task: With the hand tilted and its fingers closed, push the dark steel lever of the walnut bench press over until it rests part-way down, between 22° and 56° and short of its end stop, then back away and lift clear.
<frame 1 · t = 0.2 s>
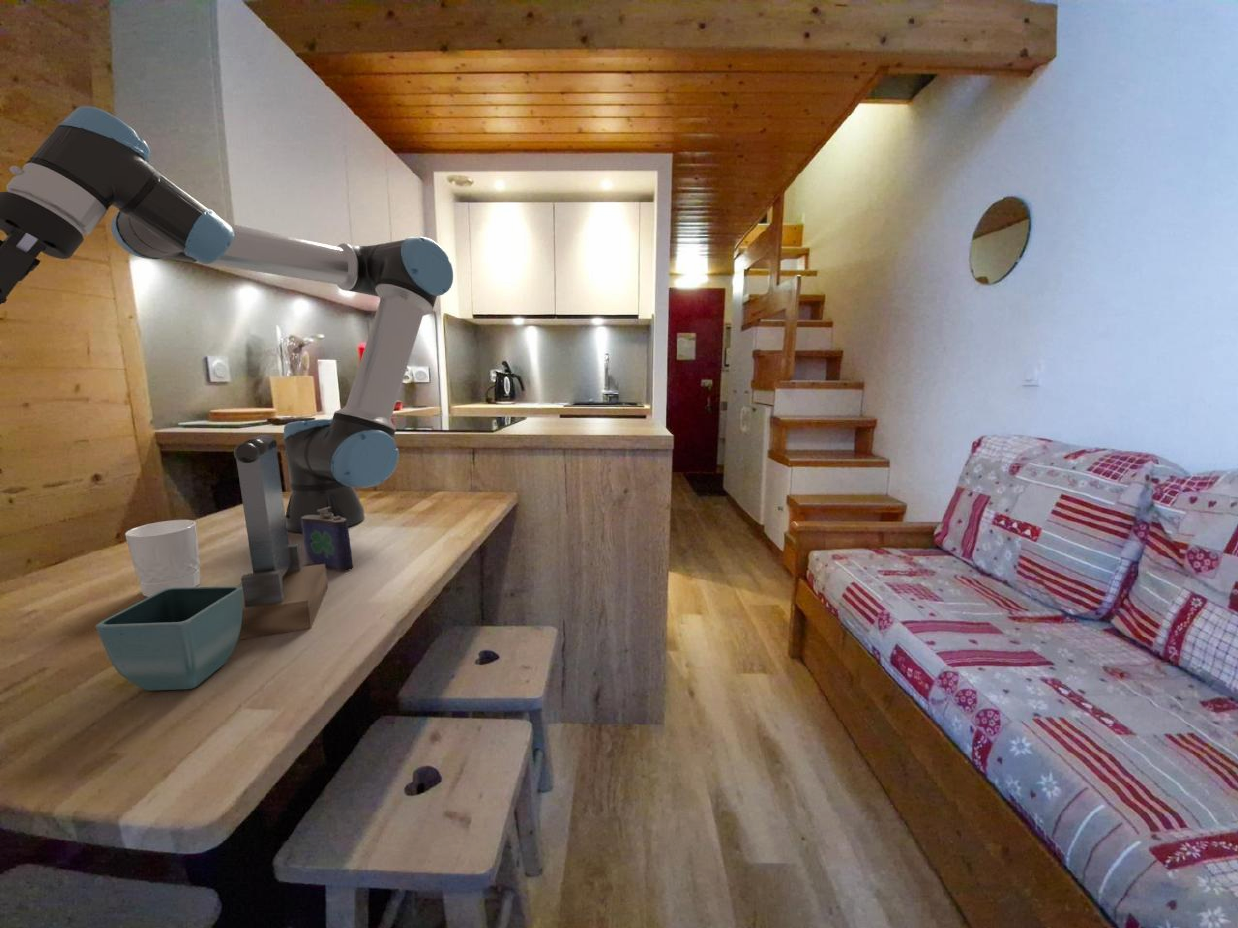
flask: (330, 567, 85), on the table
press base: (279, 612, 69), on the table
flower pot: (188, 678, 54), on the table
white cup: (173, 589, 76), on the table
lever: (265, 513, 66), point 15 cm above the table, hinge at 0.0°
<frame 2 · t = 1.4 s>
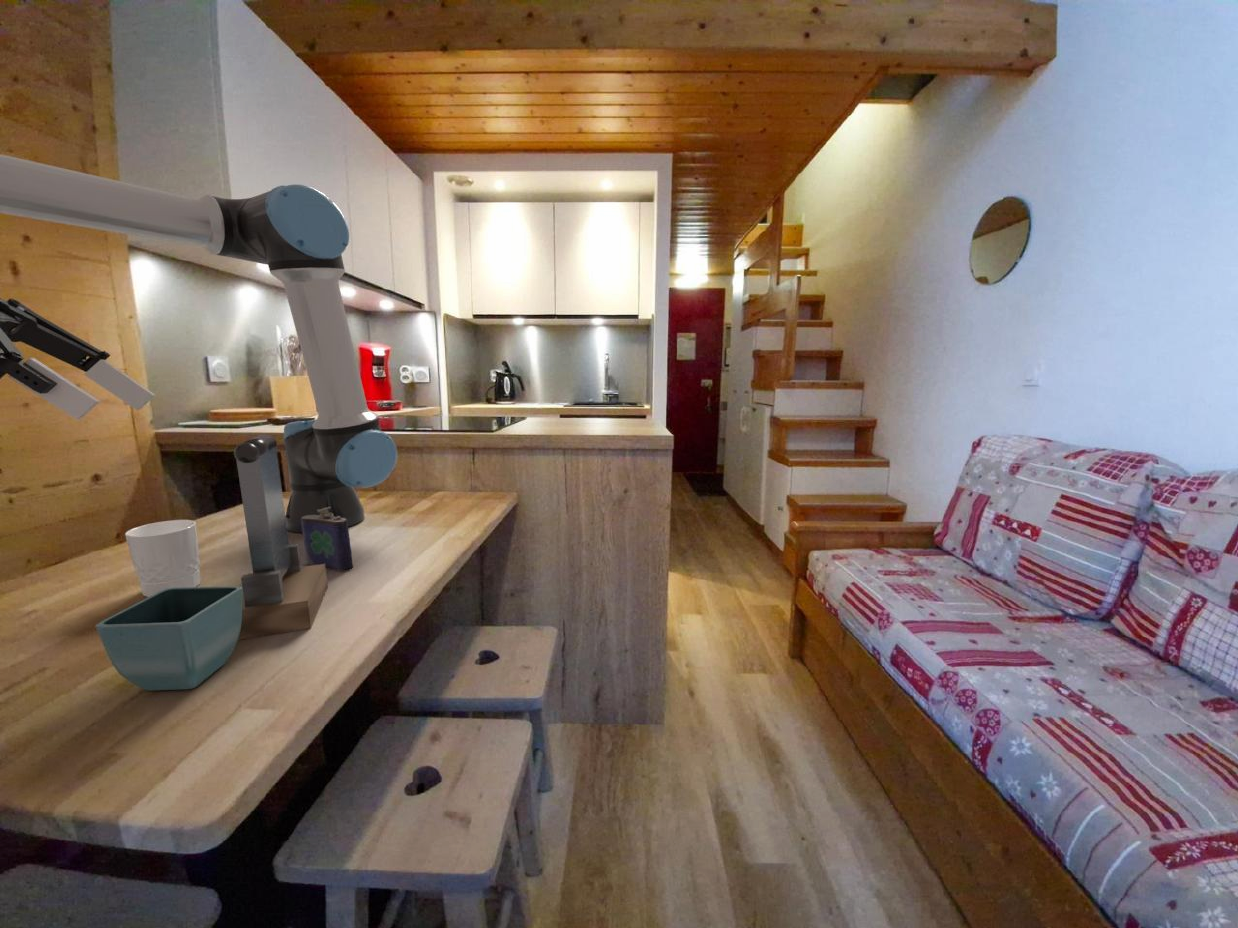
hand: (120, 406, 59), 29 cm above the table, tool tilted 45°, fingers open, 12 cm apart
nothing on the table moved.
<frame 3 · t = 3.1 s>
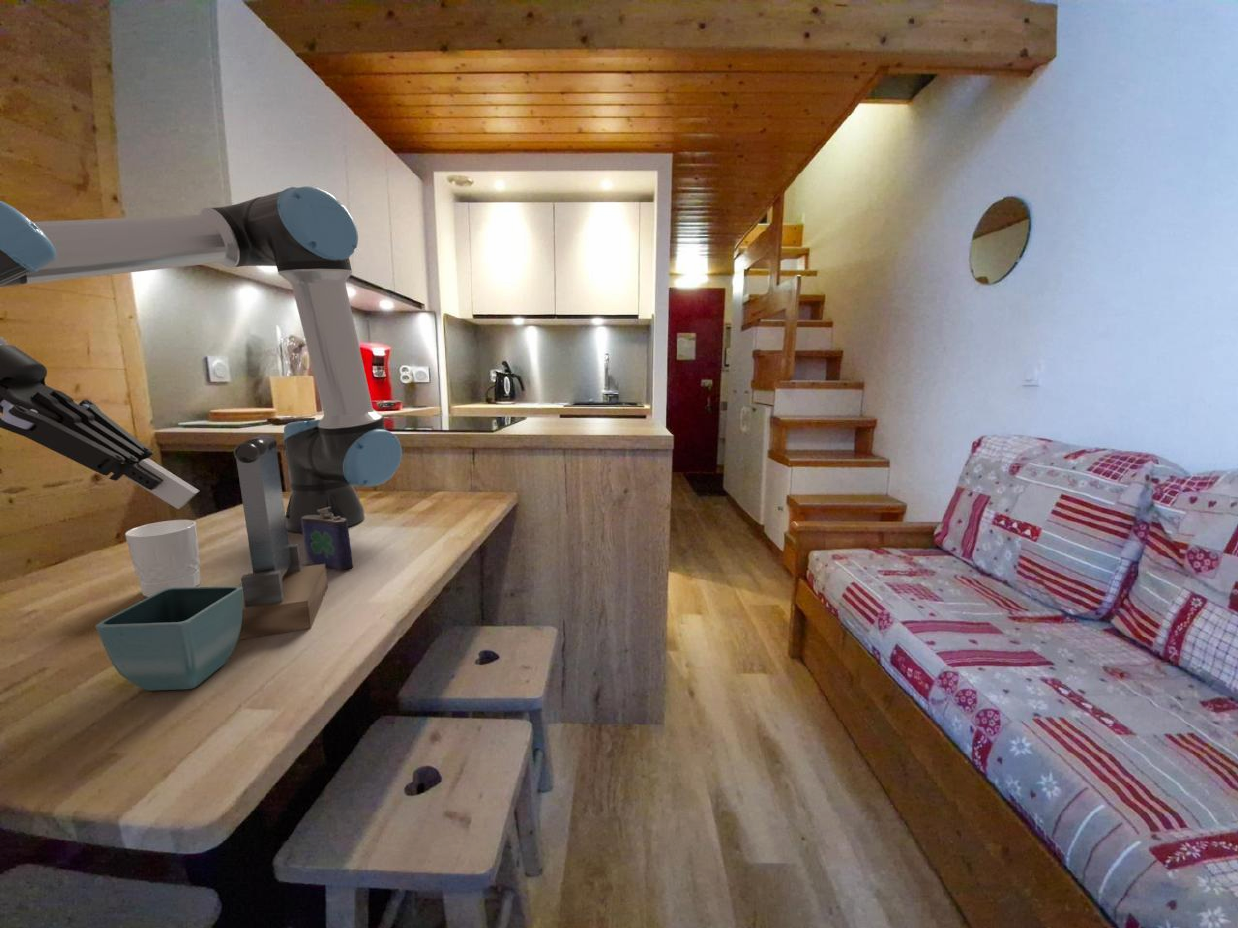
hand: (188, 499, 62), 17 cm above the table, tool tilted 45°, fingers closed
nothing on the table moved.
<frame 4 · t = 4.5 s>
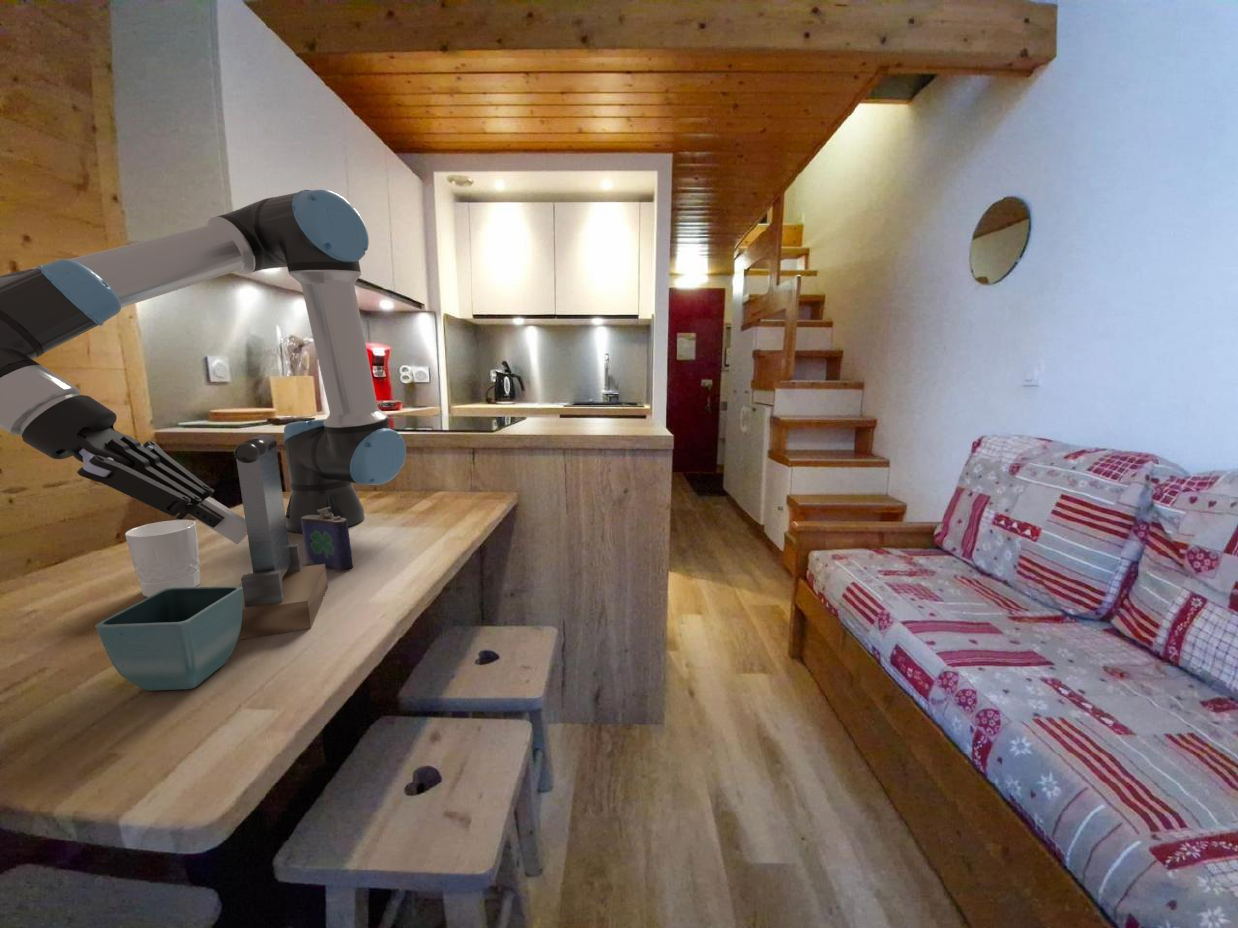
hand: (246, 534, 65), 12 cm above the table, tool tilted 45°, fingers closed
lever: (266, 513, 66), point 15 cm above the table, hinge at 0.0°, touching gripper
everything else where it was.
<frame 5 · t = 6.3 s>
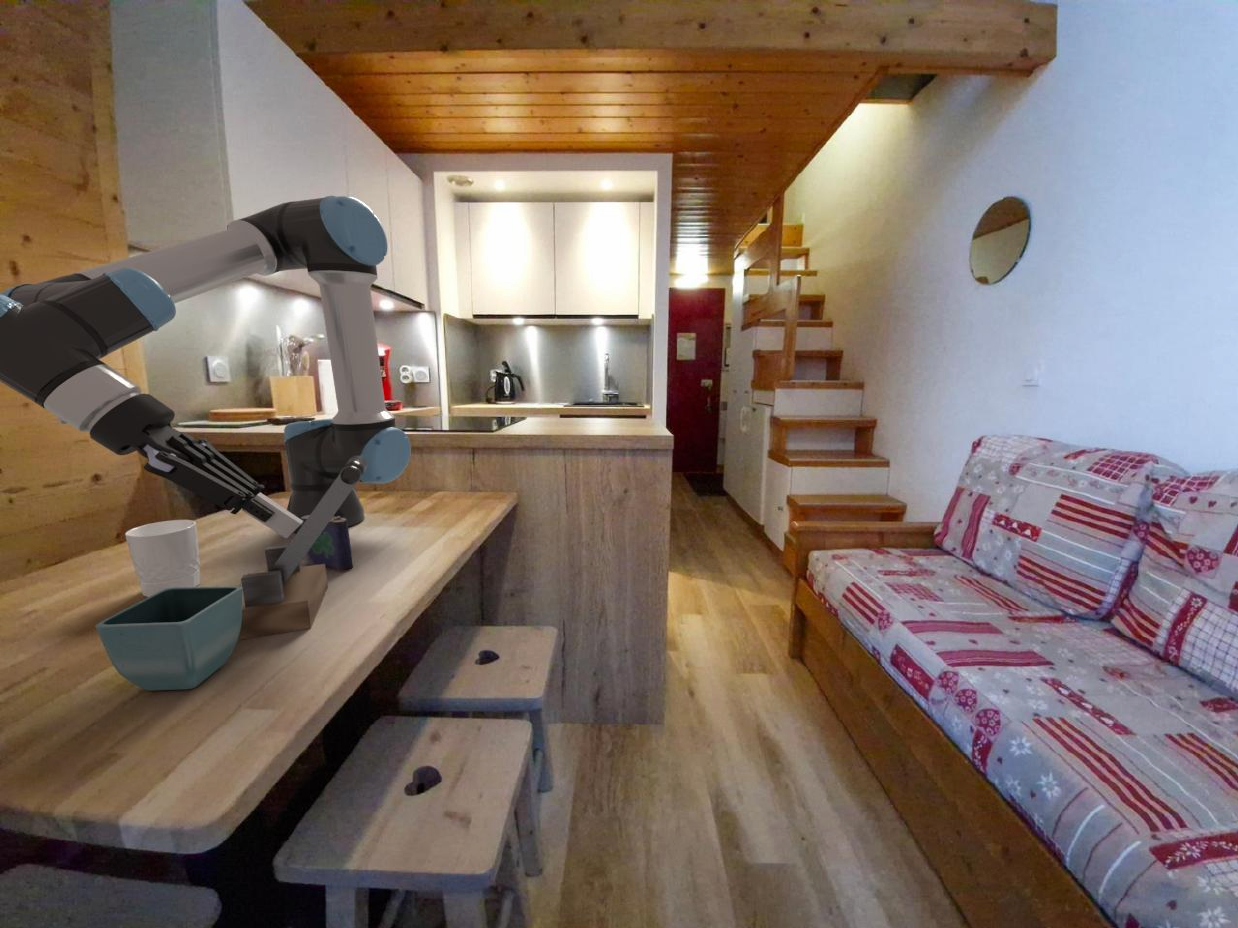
hand: (294, 529, 67), 12 cm above the table, tool tilted 45°, fingers closed
lever: (316, 522, 68), point 13 cm above the table, hinge at 36.5°, touching gripper
everything else where it was.
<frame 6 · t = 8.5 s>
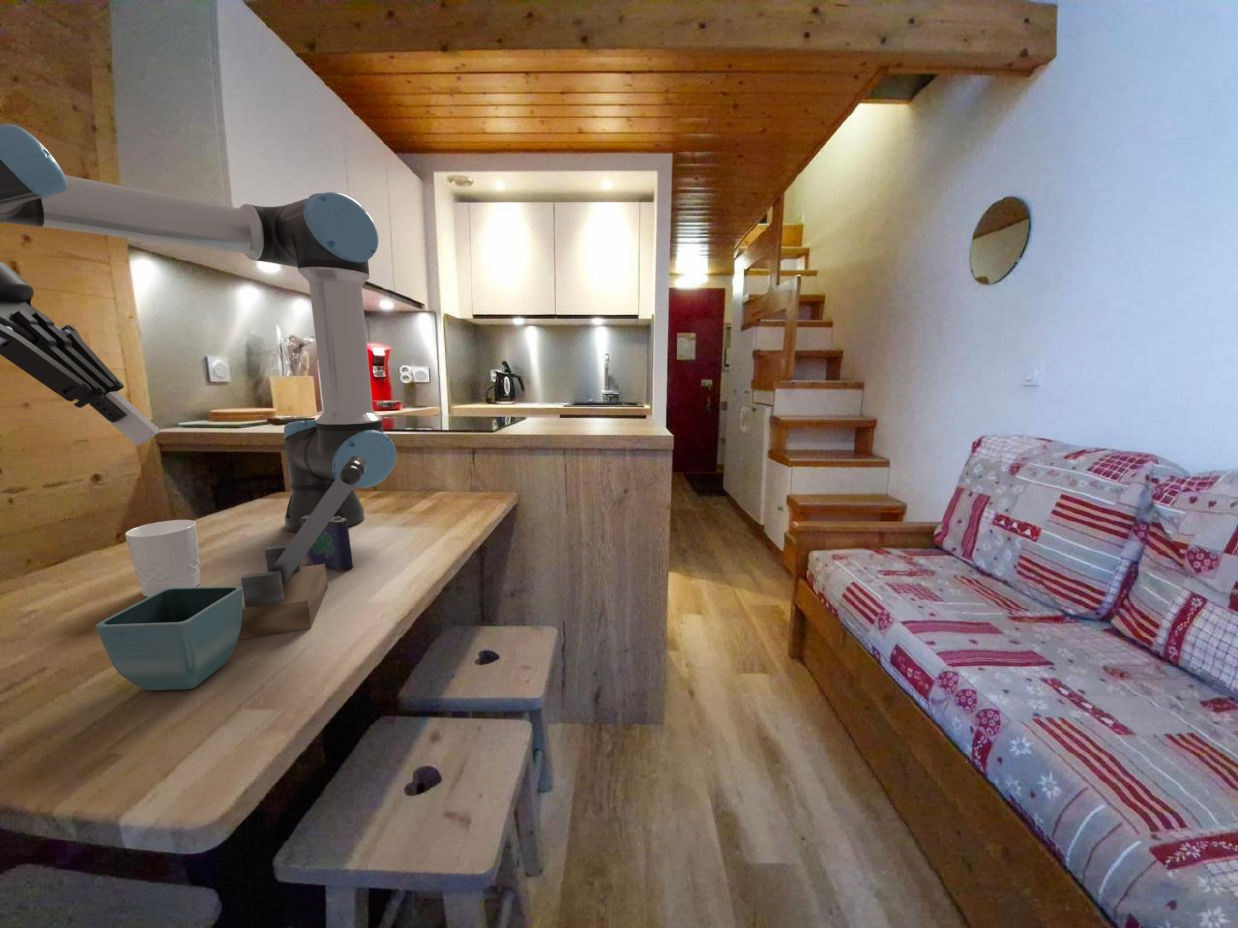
hand: (149, 438, 63), 25 cm above the table, tool tilted 35°, fingers closed
lever: (316, 522, 68), point 13 cm above the table, hinge at 36.5°
everything else where it was.
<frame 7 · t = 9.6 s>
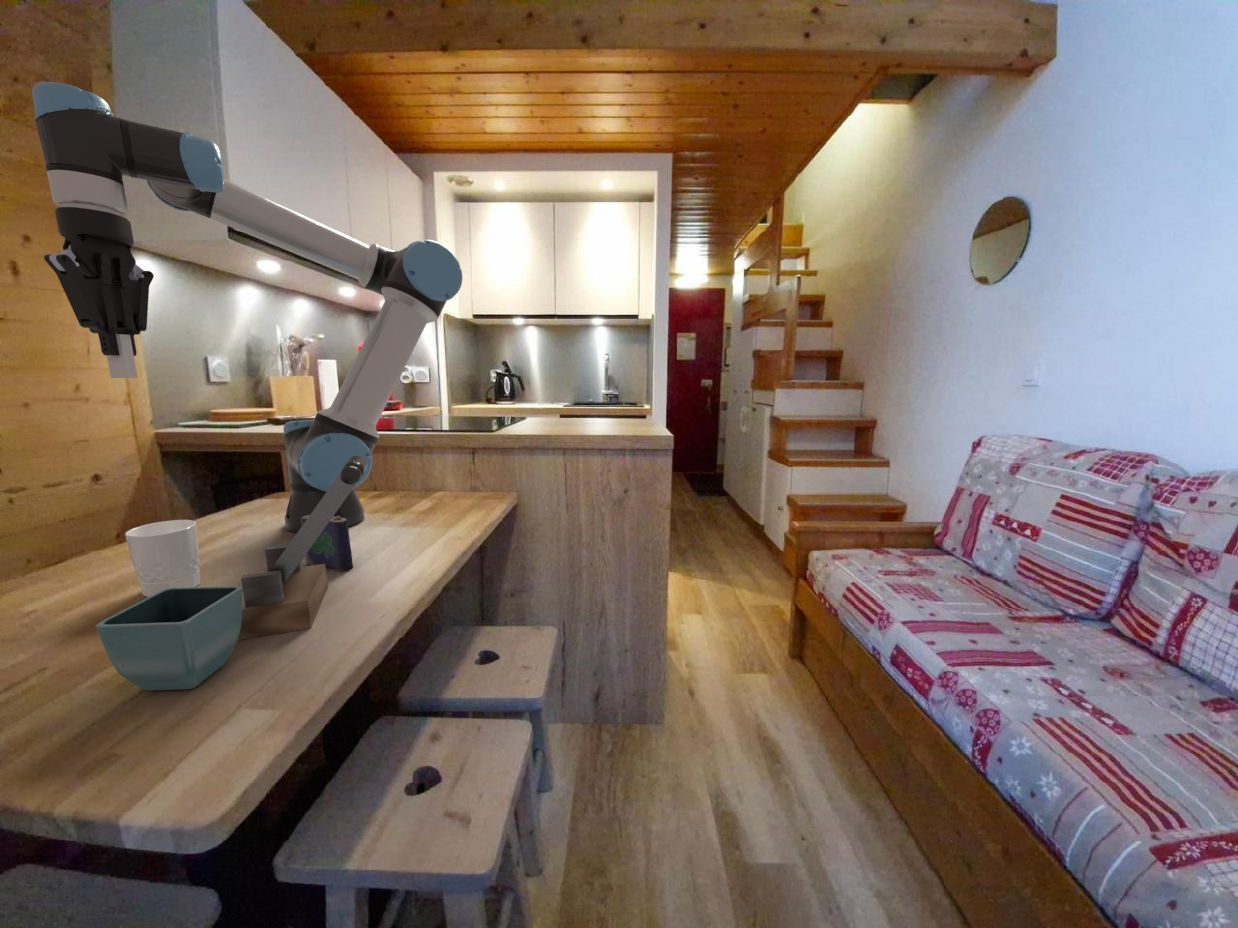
hand: (124, 377, 74), 32 cm above the table, tool pointing down, fingers closed
nothing on the table moved.
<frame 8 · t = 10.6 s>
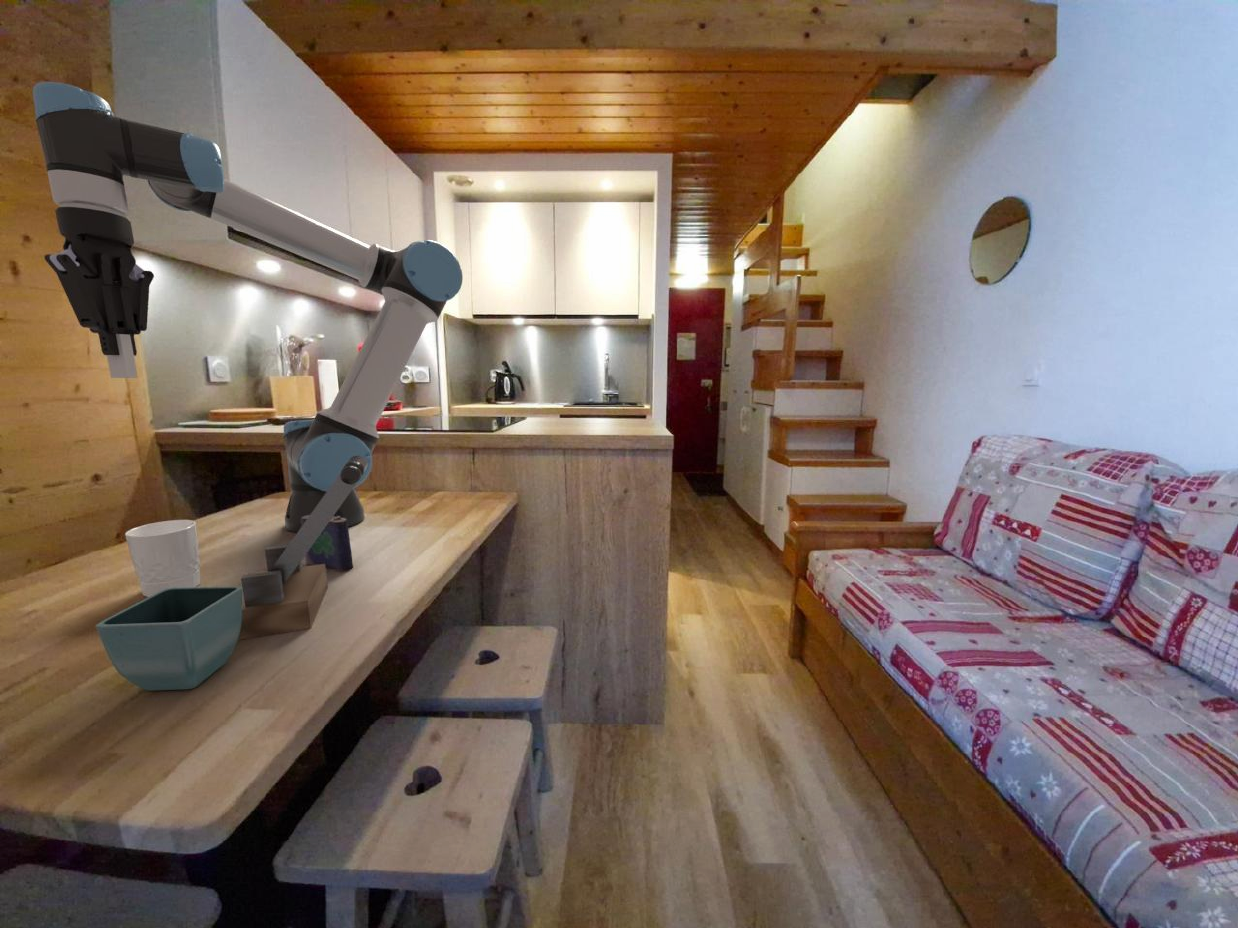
hand: (124, 377, 74), 32 cm above the table, tool pointing down, fingers closed
nothing on the table moved.
at the end: lever at +36° (first picture: +0°); the gripper is holding nothing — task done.
